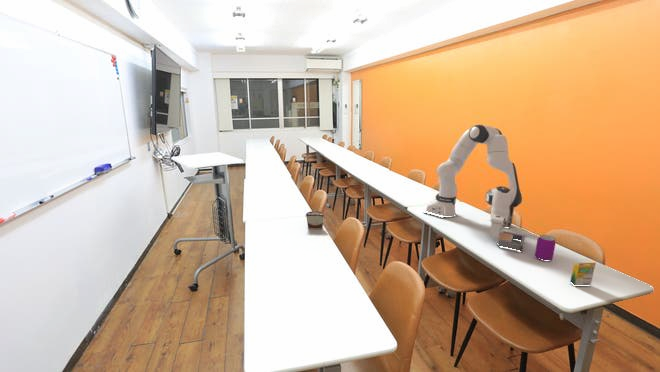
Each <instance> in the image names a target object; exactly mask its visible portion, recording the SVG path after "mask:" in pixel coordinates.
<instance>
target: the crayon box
mask: <svg viewBox="0 0 660 372" xmlns="http://www.w3.org/2000/svg"><path fill="white" fill-rule="evenodd" d="M595 267H596V262H580V263H574V264H573V267H572V271H571V277H570V281H569V283H570V282H572V283H573V284H574V285H591V286H592V281H593V276H594V271H595Z"/></svg>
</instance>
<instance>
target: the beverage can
mask: <svg viewBox="0 0 660 372" xmlns="http://www.w3.org/2000/svg"><path fill="white" fill-rule="evenodd" d="M555 248H556V240H555V237H553V236H552V235H548V234H540V235H539V237H538V238H537V241H536V247H535V250H534V251H535V252H534V257H535V256H536V257H537V258H540V259H543V260H551V261H552V260H553V259H554V253H555ZM536 257H535V258H536ZM537 258H536V259H537Z"/></svg>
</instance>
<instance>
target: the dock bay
mask: <svg viewBox="0 0 660 372" xmlns="http://www.w3.org/2000/svg"><path fill="white" fill-rule="evenodd" d="M502 233H507V234H512V235H513V239H518V240H521V242H520V244H517V243H513V242H512V243H509V242H505V241H500V240H499V246H503V247H508V248H512V249H516V250H520V251H522V252H523V249H524V244H525V239H526V235H525V234H519V233H513V232H509V231H502Z"/></svg>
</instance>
